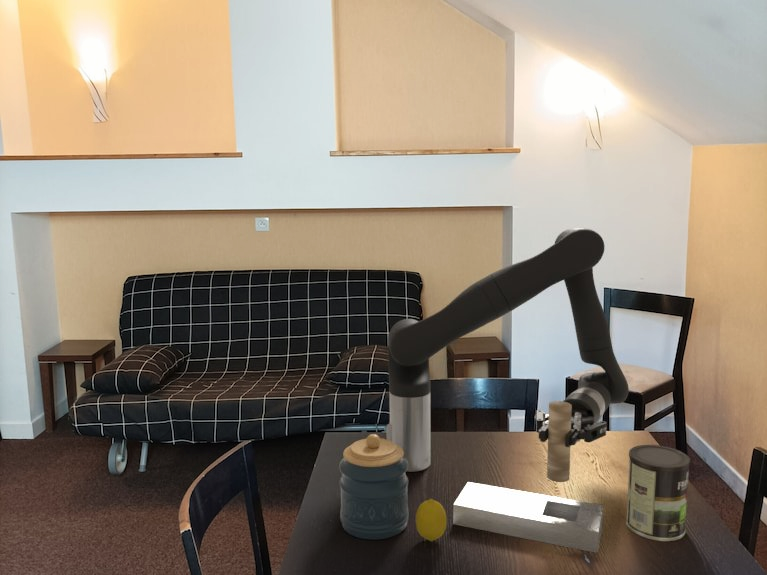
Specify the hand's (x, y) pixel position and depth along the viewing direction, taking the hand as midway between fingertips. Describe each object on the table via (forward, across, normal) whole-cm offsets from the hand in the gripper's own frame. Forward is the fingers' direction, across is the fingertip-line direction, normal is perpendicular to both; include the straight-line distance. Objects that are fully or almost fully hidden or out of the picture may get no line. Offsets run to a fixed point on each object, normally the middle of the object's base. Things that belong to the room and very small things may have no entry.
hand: (554, 439), depth 117 cm
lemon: (+14, -18, +18) cm, 29 cm away
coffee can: (-11, +16, +18) cm, 27 cm away
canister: (+14, -30, +18) cm, 38 cm away
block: (0, -5, +18) cm, 19 cm away
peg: (-3, 0, +8) cm, 9 cm away
